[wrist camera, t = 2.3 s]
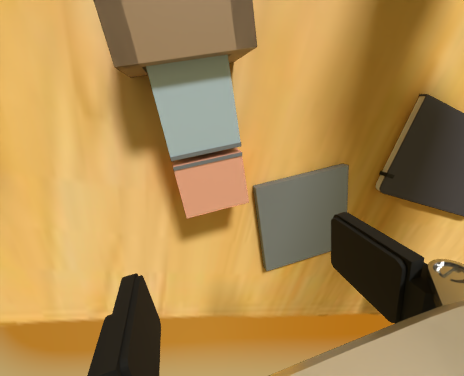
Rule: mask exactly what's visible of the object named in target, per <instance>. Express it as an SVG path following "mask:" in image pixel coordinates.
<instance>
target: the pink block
mask: <svg viewBox="0 0 464 376" xmlns="http://www.w3.org/2000/svg"><path fill="white" fill-rule="evenodd" d="M173 169H174V173H175V176H176V180H177V184H178V188H179V191H180V195H181V199H182V202H183V206H184V210H185V214H186V217H187V218H191V217H195V216H199V215H202V214H206V213H210V212H214V211H218V210H222V209H225V208H229V207H233V206H237V205H241V204H245V203H249V199H248V193H247V186H246V179H245V172H244V166H243V159H242V152H241V151H240V150H238V149H237V148H231V149H226V150H222V151H217V152H212V153H208V154H203V155H199V156H194V157H189V158H185V159H180V160H175V161H173Z"/></svg>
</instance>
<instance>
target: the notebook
mask: <svg viewBox="0 0 464 376" xmlns="http://www.w3.org/2000/svg"><path fill="white" fill-rule="evenodd" d="M379 175H380V177H379V179H378V181H377V183H376V189H377V190H379V191H380V192H382V193H384V194H387V195H391V196H394V197H398V198H401V199H405V200H408V201H412V202H415V203H419V204H422V205H426V206H429V207H433V208H436V209H440V210H443V211H447V212H450V213H454V214H457V215H461V216H464V113H462V112H460V111H458V110H457V109H455V108H453V107H451V106H449V105H447V104H445V103H443V102H441V101H439V100H437V99H436V98H434V97H432V96H430V95H428V94H420V95H419V98H418V100H417V102H416V104H415V106H414V108H413V110H412V112H411V114H410V116H409V118H408V120H407V122H406V124H405V126H404V128H403V130H402V132H401V134H400V136H399V138H398V140H397V142H396V145H395V147H394V149H393V151H392V153H391V155H390V157H389V159H388V161H387V163H386V165H385V167H384V169H383V171H381V172H380V174H379Z"/></svg>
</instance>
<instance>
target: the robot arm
mask: <svg viewBox="0 0 464 376" xmlns="http://www.w3.org/2000/svg"><path fill="white" fill-rule="evenodd" d="M331 263H332V265H333V267H334V268H335V269H336V270H337V271H338V272H339V273H340V274H341V275H342V276H343V277H344V278H345V279H346V280H347V281H348V282H349V283H350V284H351V285H352V286H353V287H354V288H355V289H356V290H357V291H358V292H359V293H360V294H362V295H363V296H364V297H365V298H366V299H367V300H368V301H369V302H370V303H371V304H372V305H373V306H374V307H375V308H376V309H377V310H378V311H379V312H380V313H381V314H382V315H383V316H384V317H385V318H386V319H387V320H388V321H390V322H391V323H395V324H393V325H391V326H388V327H386V328H383V329H381V330H379V331H376V332H374V333H371V334H369V335H366V336H364V337H361V338H359V339H356V340H354V341H352V342H349V343H346V344H344V345H342V346H340V347H337V348H334V349H332V350H330V351H327V352H325V353H322V354H320V355H317V356H315V357H312V358H310V359H308V360H305V361H303V362H300V363H298V364H296V365H293V366H291V367H289V368H286V369H284V370H281V371H279V372H277V373H274V374H272V375H269V376H464V264H462V263H459V262H456V261H452V260H447V259H437V260H433V261H431V262H429V264H428V265H427V264H426V263H424V257H422V256H420V255H419V254H417V253H415V252H414V251H412V250H410V249H409V248H407V247H405V246H403V245H402V244H400V243H398V242H397V241H395V240H393V239H392V238H390V237H388V236H386V235H385V234H383V233H381V232H380V231H378V230H376V229H375V228H373V227H371V226H370V225H368V224H366V223H364V222H363V221H361V220H359V219H358V218H356V217H354V216H353V215H351V214H349V213H347V212H342V213H339V214H335V215H334V216H333V218H332V219H331ZM160 337H161V324H160V319H159V316H158V314H157V311H156V309H155V306H154V303H153V301H152V298H151V296H150V293H149V290H148V288H147V285H146V283H145V280H144V278H143V276H142V275H141V276H138V274H133V275H129V276H126V277H123V278H122V280H121V284H120V287H119V291H118V295H117V298H116V302H115V306H114V309H113V313H112V314H111V315H108V316H107V317H106V318H105V320H104V323H103V326H102V329H101V332H100V336H99V339H98V342H97V346H96V349H95V353H94V356H93V359H92V363H91V366H90V369H89V372H88V375H87V376H159V363H160Z"/></svg>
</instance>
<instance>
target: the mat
mask: <svg viewBox="0 0 464 376" xmlns="http://www.w3.org/2000/svg"><path fill="white" fill-rule="evenodd" d="M348 169H349V165H346V164H339V165H335V166H331V167H327V168H323V169H319V170H315V171H311V172H307V173H303V174H299V175H295V176H291V177H287V178H283V179H279V180H275V181H271V182H267V183H262V184H258V185H254V186H253V190H254V197H255V205H256V212H257V219H258V227H259V234H260V242H261V249H262V256H263V264H264V268H265V269H266V271H269V270H272V269H276V268H279V267H282V266H285V265H288V264H291V263H295V262H298V261H301V260H304V259H307V258H310V257H314V256H317V255H320V254H323V253H326V252H329V251H331V219H332V218H333V216H334V215H335V214H339V213H342V212H347V199H348Z"/></svg>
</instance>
